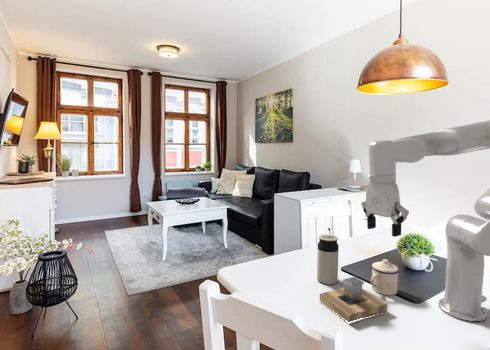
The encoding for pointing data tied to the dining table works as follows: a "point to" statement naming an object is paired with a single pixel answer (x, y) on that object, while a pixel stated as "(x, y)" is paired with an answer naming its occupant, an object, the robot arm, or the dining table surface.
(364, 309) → the well block
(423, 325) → the dining table surface
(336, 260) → the travel mug
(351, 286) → the upright grey block
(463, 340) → the dining table surface
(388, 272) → the teacup with lid
